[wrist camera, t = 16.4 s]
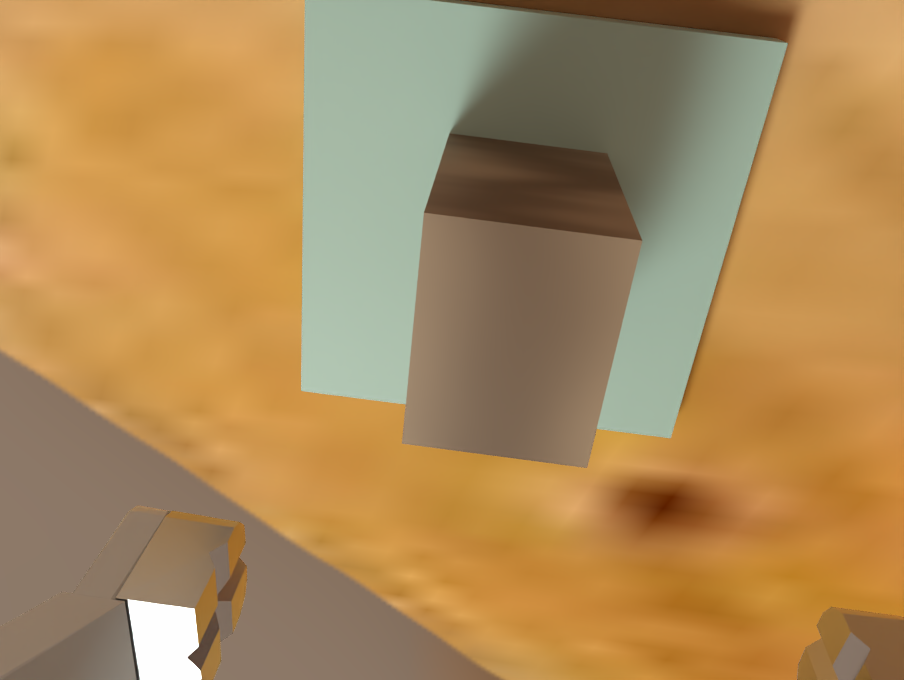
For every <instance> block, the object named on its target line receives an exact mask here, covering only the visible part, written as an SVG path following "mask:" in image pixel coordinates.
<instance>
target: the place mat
mask: <svg viewBox="0 0 904 680" xmlns="http://www.w3.org/2000/svg"><path fill="white" fill-rule="evenodd" d="M787 45H788V43H786V42H784V41H782V40H779V39H777V38H769V37H761V36H753V35H744V34H736V33H728V32H719V31H711V30H703V29H694V28H686V27H677V26H669V25H661V24H652V23H644V22H636V21H627V20H619V19H611V18H602V17H594V16H586V15H577V14H569V13H561V12H552V11H544V10H535V9H527V8H519V7H510V6H502V5H494V4H485V3H477V2H469V1H460V0H305V49H304V154H303V260H302V365H301V391H306V392H314V393H321V394H329V395H337V396H345V397H353V398H360V399H368V400H376V401H384V402H392V403H400V404H406V397H407V386H408V376H409V365H410V355H411V344H412V333H413V323H414V312H415V301H416V291H417V280H418V270H419V259H420V248H421V238H422V227H423V216H424V211H425V208H426V204H427V201H428V198H429V195H430V192H431V189H432V186H433V183H434V180H435V177H436V173H437V170H438V167H439V164H440V161H441V158H442V155H443V152H444V149H445V145H446V142H447V139H448V136H449V133H451V134H459V135H467V136H475V137H483V138H491V139H498V140H506V141H514V142H522V143H530V144H538V145H546V146H554V147H561V148H569V149H577V150H585V151H593V152H601V153H607V154H608V157H609V159H610V161H611V164H612V166H613V169H614V171H615V174H616V176H617V179H618V181H619V184H620V186H621V189H622V191H623V194H624V196H625V199H626V201H627V204H628V206H629V209H630V211H631V214H632V216H633V219H634V221H635V224H636V226H637V229H638V231H639V234H640V236H641V239H642V244H641V249H640V253H639V257H638V261H637V265H636V269H635V273H634V277H633V281H632V285H631V290H630V294H629V298H628V302H627V306H626V310H625V314H624V318H623V322H622V327H621V331H620V335H619V339H618V343H617V347H616V351H615V355H614V359H613V364H612V368H611V372H610V376H609V380H608V384H607V388H606V392H605V396H604V401H603V405H602V409H601V413H600V417H599V421H598V425H597V429H603V430H611V431H618V432H626V433H634V434H642V435H650V436H657V437H665V438H671V435H672V432H673V428H674V425H675V421H676V418H677V415H678V411H679V408H680V405H681V401H682V398H683V395H684V391H685V388H686V384H687V381H688V378H689V374H690V371H691V368H692V364H693V361H694V358H695V354H696V351H697V347H698V344H699V341H700V337H701V334H702V331H703V327H704V324H705V320H706V317H707V314H708V310H709V307H710V304H711V300H712V297H713V294H714V290H715V287H716V283H717V280H718V277H719V273H720V270H721V267H722V263H723V260H724V257H725V253H726V250H727V246H728V243H729V240H730V236H731V233H732V230H733V226H734V223H735V220H736V216H737V213H738V209H739V206H740V203H741V199H742V196H743V193H744V189H745V186H746V183H747V179H748V176H749V172H750V169H751V166H752V162H753V159H754V156H755V152H756V149H757V146H758V142H759V139H760V135H761V132H762V129H763V125H764V122H765V119H766V115H767V112H768V109H769V105H770V102H771V98H772V95H773V92H774V88H775V85H776V82H777V78H778V75H779V71H780V68H781V65H782V61H783V58H784V55H785V51H786V48H787Z"/></svg>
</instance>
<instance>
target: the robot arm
mask: <svg viewBox="0 0 904 680" xmlns="http://www.w3.org/2000/svg"><path fill="white" fill-rule="evenodd" d="M244 545H245V531H244V525H243V524H242V523H240V522H235V521H230V520H224V519H218V518H212V517H206V516H200V515H195V514H189V513H183V512H176V511H166V510H160V509H155V508H149V507H143V506H136V507H135V508H133V509H132V510H130V511H129V512H128V513H127V514H126V516H125V517H124V519H123V520H122V521H121V523H120V525H119V526H118V528H117V529H116V530H115V532H114V533H113V535H112V536H111V538H110V539H109V541H108V542H107V543H106V545H105V546H104V548H103V549H102V551H101V552H100V554H99V555H98V557H97V558H96V560H95V561H94V563H93V564H92V566H91V567H90V568H89V570H88V571H87V573H86V574H85V576H84V577H83V579H82V580H81V582H80V583H79V585H78V586H77V588H76V589H75V590H74V592H73V593H66V592H61V593H59V594H57V595H55V596H54V597H52V598H50V599H49V600H47V601H45V602H43V603H41V604H40V605H38V606H36V607H34V608H33V609H31V610H29V611H27V612H25V613H24V614H22V615H20V616H18V617H17V618H15V619H13V620H11V621H9V622H8V623H6V624H4V625H2V626H0V680H213V679H214V677H215V675H216V672H217V670H218V667H219V665H220V663H221V645H220V642H221V641H223V640H224V639H225V638H227V637H228V636H230V635H231V634H233V631H234V629H235V627H236V624H237V622H238V619H239V616H240V613H241V609H242V605H243V601H244V597H245V592H246V582H247V566H246V565H245V563H244V562H243V561H242V560H241V559H240V558H239V556H240V554H241V552H242V549H243V547H244ZM817 628H818V630H819V633H820V635H821V639H819V640H818V641H816V642H814V643H812V644H811V645H809V646H807V647H806V648H805V650H804V652H803V655H802V657H801V659H800V662H799V664H798V675H797V680H904V617H901V616H896V615H888V614H881V613H873V612H866V611H859V610H851V609H844V608H836V607H831V608H829V609H828V610H826V611H825V612H824V613H823V614H822V616H821V618H820V620H819V622H818V624H817Z"/></svg>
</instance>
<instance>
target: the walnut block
mask: <svg viewBox="0 0 904 680" xmlns="http://www.w3.org/2000/svg"><path fill="white" fill-rule="evenodd" d="M641 244H642V239H641V236H640V234H639V231H638V229H637V226H636V224H635V221H634V219H633V216H632V214H631V211H630V209H629V206H628V204H627V201H626V199H625V196H624V194H623V191H622V189H621V186H620V184H619V181H618V179H617V176H616V174H615V171H614V169H613V166H612V164H611V161H610V159H609V157H608V154H607V153H601V152H593V151H585V150H577V149H569V148H561V147H554V146H546V145H538V144H530V143H522V142H514V141H506V140H498V139H491V138H483V137H475V136H467V135H459V134H451V133H449V136H448V139H447V142H446V145H445V149H444V152H443V155H442V158H441V161H440V164H439V167H438V170H437V173H436V177H435V180H434V183H433V186H432V189H431V192H430V195H429V198H428V201H427V204H426V208H425V211H424V216H423V227H422V238H421V248H420V259H419V270H418V280H417V291H416V301H415V312H414V323H413V333H412V344H411V355H410V365H409V376H408V386H407V397H406V408H405V418H404V429H403V439H402V444H410V445H418V446H425V447H433V448H440V449H448V450H455V451H463V452H470V453H478V454H486V455H493V456H501V457H508V458H516V459H523V460H531V461H538V462H546V463H554V464H561V465H569V466H576V467H584V468H587V466H588V462H589V458H590V454H591V450H592V446H593V442H594V437H595V433H596V429H597V425H598V421H599V417H600V413H601V409H602V405H603V401H604V396H605V392H606V388H607V384H608V380H609V376H610V372H611V368H612V364H613V359H614V355H615V351H616V347H617V343H618V339H619V335H620V331H621V327H622V322H623V318H624V314H625V310H626V306H627V302H628V298H629V294H630V290H631V285H632V281H633V277H634V273H635V269H636V265H637V261H638V257H639V253H640V249H641Z"/></svg>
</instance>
